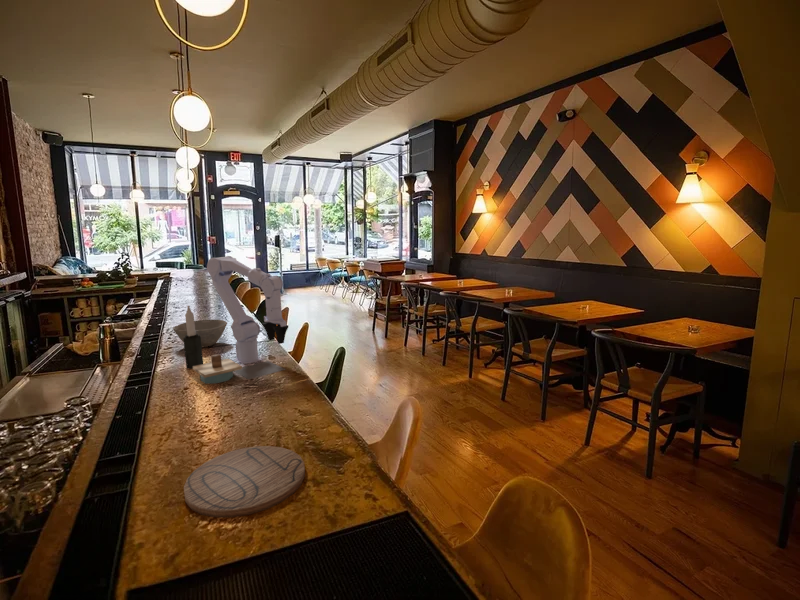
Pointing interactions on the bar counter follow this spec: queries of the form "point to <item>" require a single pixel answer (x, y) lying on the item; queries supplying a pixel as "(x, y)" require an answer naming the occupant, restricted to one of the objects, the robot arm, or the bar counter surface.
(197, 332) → the ceramic bowl
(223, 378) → the dish
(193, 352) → the candle
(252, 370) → the tray
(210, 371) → the lid
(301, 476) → the trivet
